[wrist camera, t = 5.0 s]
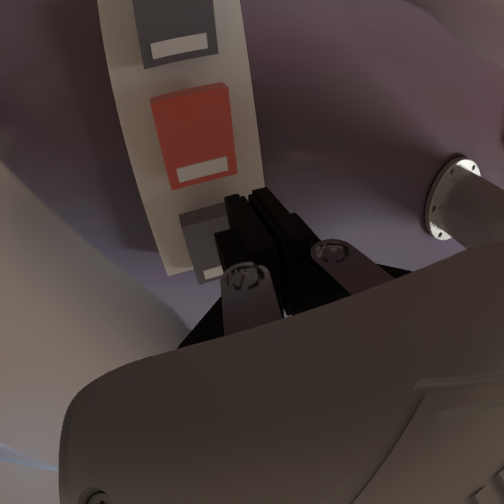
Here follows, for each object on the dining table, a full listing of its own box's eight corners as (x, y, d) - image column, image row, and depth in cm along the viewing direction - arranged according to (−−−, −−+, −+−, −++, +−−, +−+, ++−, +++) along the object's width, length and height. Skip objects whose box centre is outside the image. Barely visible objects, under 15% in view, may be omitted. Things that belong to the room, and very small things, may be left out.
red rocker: (222, 81, 16) (228, 87, 15) (231, 164, 20) (238, 174, 19) (149, 97, 15) (150, 104, 14) (169, 179, 20) (172, 191, 19)
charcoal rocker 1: (204, -32, 11) (209, -36, 10) (213, 51, 16) (219, 54, 15) (130, -19, 11) (129, -22, 10) (144, 66, 15) (144, 69, 14)
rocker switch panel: (223, -15, 16) (237, -31, 13) (258, 227, 29) (274, 251, 25) (104, 9, 14) (95, -4, 11) (165, 253, 27) (168, 281, 24)
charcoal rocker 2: (241, 197, 21) (247, 210, 20) (247, 256, 25) (253, 269, 24) (178, 214, 20) (181, 228, 19) (195, 271, 24) (199, 285, 23)
